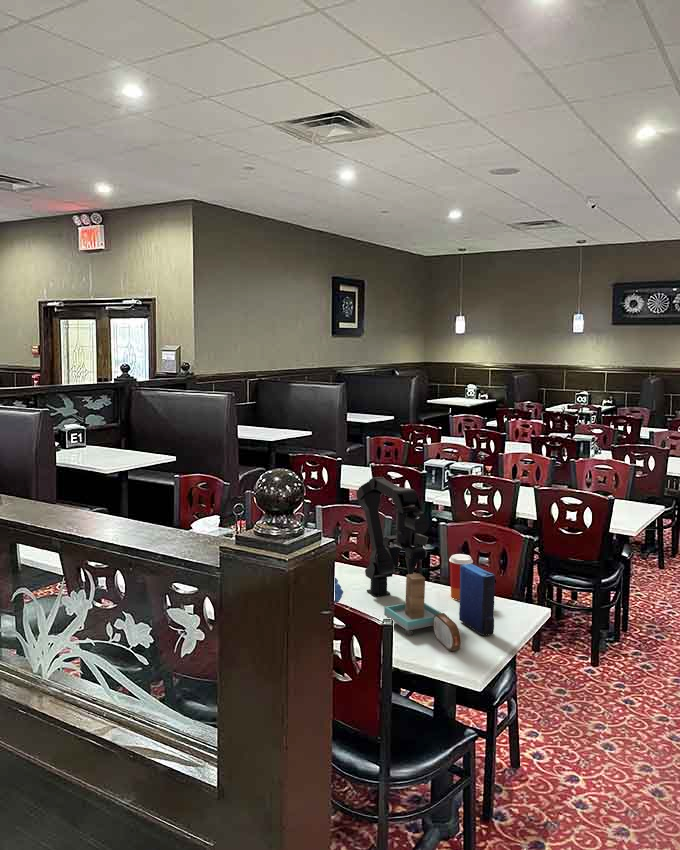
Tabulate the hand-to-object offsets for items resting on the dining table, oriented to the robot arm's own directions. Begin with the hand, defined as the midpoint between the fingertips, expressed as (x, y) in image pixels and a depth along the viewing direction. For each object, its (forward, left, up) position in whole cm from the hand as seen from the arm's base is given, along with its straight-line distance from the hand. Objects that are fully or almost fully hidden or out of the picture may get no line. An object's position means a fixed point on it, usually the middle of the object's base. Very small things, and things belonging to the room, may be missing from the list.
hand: (403, 571), depth 255 cm
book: (+25, +12, -13) cm, 31 cm away
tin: (+31, -4, -13) cm, 34 cm away
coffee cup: (0, +24, -13) cm, 27 cm away
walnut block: (+15, -5, -9) cm, 18 cm away
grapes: (-8, -22, -13) cm, 27 cm away
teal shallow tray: (+15, -5, -13) cm, 20 cm away
